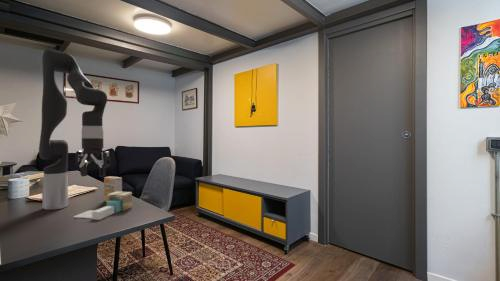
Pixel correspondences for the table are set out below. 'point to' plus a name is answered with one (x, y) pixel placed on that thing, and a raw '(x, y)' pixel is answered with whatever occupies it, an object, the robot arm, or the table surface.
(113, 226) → the table surface
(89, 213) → the mat
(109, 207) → the light grey rectangular block
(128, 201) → the tunnel
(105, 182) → the supplement box
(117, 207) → the block
